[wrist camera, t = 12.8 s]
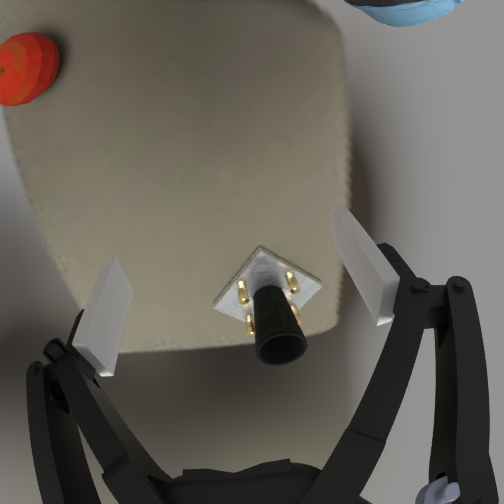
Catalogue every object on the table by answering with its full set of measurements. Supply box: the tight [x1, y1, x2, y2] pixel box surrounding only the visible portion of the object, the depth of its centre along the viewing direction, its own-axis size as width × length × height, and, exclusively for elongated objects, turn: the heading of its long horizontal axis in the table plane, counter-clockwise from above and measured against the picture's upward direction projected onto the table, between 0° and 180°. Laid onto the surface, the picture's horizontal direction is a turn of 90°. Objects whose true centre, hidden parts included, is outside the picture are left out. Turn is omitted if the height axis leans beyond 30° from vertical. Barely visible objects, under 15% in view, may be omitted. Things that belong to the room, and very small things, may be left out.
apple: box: [0, 33, 60, 106], centre depth 21 cm, size 10×10×12 cm
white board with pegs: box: [213, 246, 323, 337], centre depth 50 cm, size 14×14×6 cm
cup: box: [253, 285, 307, 366], centre depth 46 cm, size 8×8×12 cm
